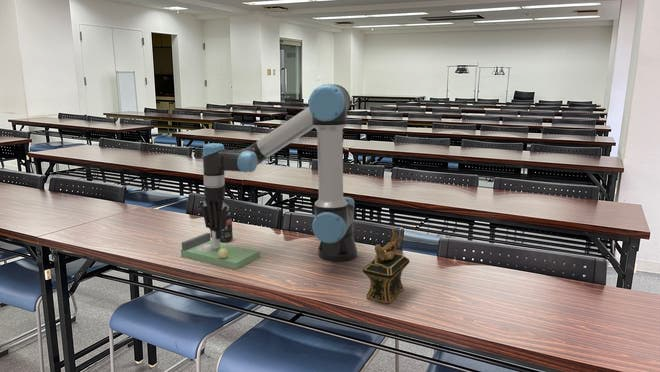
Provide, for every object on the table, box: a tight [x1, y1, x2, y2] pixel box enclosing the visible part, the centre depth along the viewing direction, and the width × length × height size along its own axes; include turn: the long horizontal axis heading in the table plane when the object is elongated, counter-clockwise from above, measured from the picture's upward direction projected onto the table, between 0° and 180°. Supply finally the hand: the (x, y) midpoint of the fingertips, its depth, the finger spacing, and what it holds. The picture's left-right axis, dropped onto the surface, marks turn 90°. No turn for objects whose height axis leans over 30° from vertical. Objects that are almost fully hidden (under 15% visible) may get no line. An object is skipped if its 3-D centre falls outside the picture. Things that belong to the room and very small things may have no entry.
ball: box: [202, 245, 211, 250], centre depth 179 cm, size 4×4×4 cm
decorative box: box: [362, 228, 410, 304], centre depth 148 cm, size 20×10×20 cm, turn 151°
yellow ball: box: [218, 248, 228, 258], centre depth 168 cm, size 4×4×4 cm
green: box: [180, 232, 261, 271], centre depth 176 cm, size 26×14×6 cm, turn 63°
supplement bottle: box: [220, 213, 234, 243], centre depth 194 cm, size 6×6×11 cm
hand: (216, 246), depth 177 cm, fingers closed
